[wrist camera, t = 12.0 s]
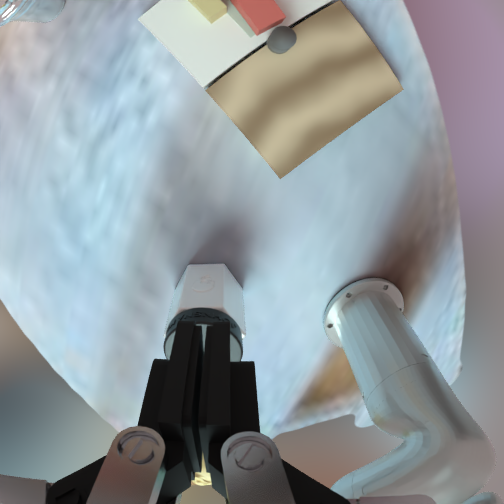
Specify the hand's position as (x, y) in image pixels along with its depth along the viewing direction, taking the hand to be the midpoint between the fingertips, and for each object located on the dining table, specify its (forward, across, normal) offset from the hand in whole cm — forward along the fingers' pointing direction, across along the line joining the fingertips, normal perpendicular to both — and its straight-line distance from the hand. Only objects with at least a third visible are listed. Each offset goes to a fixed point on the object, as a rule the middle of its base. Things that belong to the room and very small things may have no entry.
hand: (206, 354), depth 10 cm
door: (+28, -1, -20) cm, 34 cm away
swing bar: (+26, -1, -20) cm, 33 cm away
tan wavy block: (+28, -8, -11) cm, 31 cm away
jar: (+28, +2, +15) cm, 32 cm away
